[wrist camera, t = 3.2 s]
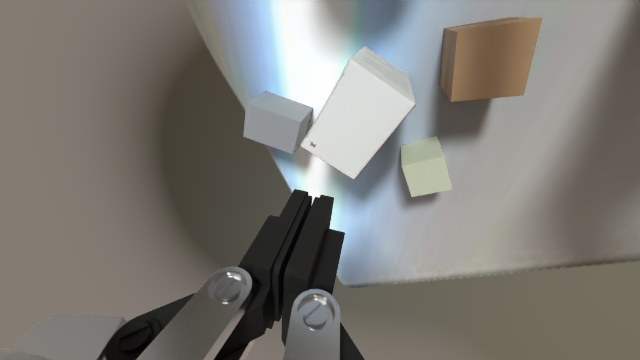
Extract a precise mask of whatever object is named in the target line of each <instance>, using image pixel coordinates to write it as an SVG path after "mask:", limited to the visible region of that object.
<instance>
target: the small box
mask: <svg viewBox="0 0 640 360" xmlns="http://www.w3.org/2000/svg"><path fill="white" fill-rule="evenodd" d="M415 105H416V102H415V98H414V95H413V91H412V87H411V84H410V80H409V76H408V75H407V74H405V73H404V72H403V71H401V70H400V69H398V68H397V67H396V66H394V65H393V64H391V63H390V62H388V61H387V60H385V59H384V58H383V57H381V56H380V55H378V54H377V53H375V52H374V51H372V50H371V49H369V48H368V47H366V46H364V47H363V48H361V49H360V50H359V51H358V52H357V53H356V54H355V55H354V56H353V57H351V58H350V59H349V61H348V62H347V65H346V67H345V69H344V70H343V72H342V74H341V76H340V78H339V80H338V82H337V83H336V85H335V87H334V89H333V91H332V92H331V94H330V96H329V98H328V99H327V101H326V103H325V105H324V106H323V108H322V110H321V112H320V113H319V115H318V117H317V119H316V120H315V122H314V124H313V125H312V127H311V129H310V130H309V132H308V134H307V135H306V137H305V138H304V140H303V141H302V143H301V144H300V146H301V147H303V148H304V149H306V150H307V151H309V152H310V153H312V154H314V155H315V156H317V157H318V158H320V159H322V160H323V161H325V162H326V163H328V164H330V165H331V166H333V167H334V168H336V169H337V170H339V171H341V172H342V173H344V174H346V175H347V176H349V177H351V178H352V179H356V177H357V176H358V175H359V174H360V173H361V171H362V170H363V169H364V168H365V166H366V165H367V164H368V163H369V161H370V160H371V159H372V158H373V157H374V155H375V154H376V153H377V152H378V150H379V149H380V148H381V147H382V145H383V144H384V143H385V142H386V141H387V139H388V138H389V137H390V136H391V134H392V133H393V132H394V131H395V130H396V128H397V127H398V126H399V125H400V123H401V122H402V121H403V120H404V119H405V117H406V116H407V115H408V114H409V112H410V111H411V110H412V109H413V108H414V106H415Z"/></svg>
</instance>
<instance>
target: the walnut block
mask: <svg viewBox="0 0 640 360" xmlns="http://www.w3.org/2000/svg"><path fill="white" fill-rule="evenodd" d="M541 21H542V18H510V17H509V18H503V19H497V20H491V21H485V22H479V23H473V24H467V25H461V26H456V27H450V28H444V35H443V49H442V63H441V76H440V87H441V88H442V90H443V91H444V93H445V94H446V96H447V97H448V99H449V100H450V102H456V101H467V100H477V99H488V98H499V97H510V96H521V95H524V92H525V87H526V83H527V79H528V75H529V71H530V66H531V62H532V58H533V54H534V50H535V46H536V41H537V37H538V33H539V29H540V25H541Z"/></svg>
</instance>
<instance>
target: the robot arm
mask: <svg viewBox="0 0 640 360" xmlns="http://www.w3.org/2000/svg"><path fill="white" fill-rule="evenodd" d="M333 201H334V197H329V196H325V195H321V196H320V198H318V197H315V199H314V201H313V204H312V196H308V192H306V191H301V190H297V189H295V190H294V191H293V193H292V195H291V197H290V198H289V200H288V202H287V204H286V206H285V208H284V209H283V211H282V213H281V215H280V216H279V217H276V216H272V215H270V216H269V217H268V218H267V220H266V221H265V223H264V225H263V226H262V228H261V230H260V231H259V233H258V235H257V236H256V238H255V240H254V241H253V243H252V244H251V246H250V248H249V249H248V251H247V253H246V254H245V256H244V257H243V259H242V261H241V262H240V264H239V266H238V267H227V268H224V269H221V270H219V271H217V272H215V273H214V274H213V275H212V276H211V277H210V278H209V279H208V280H207V281H206V282H205V283H204V284H203V285H202V287H201V288H200V289H199V290H198V291H197V292H196V293H194V294H191V295H189V296H186V297H184V298H182V299H179V300H177V301H174V302H172V303H170V304H167V305H165V306H162V307H160V308H157V309H155V310H152V311H150V312H148V313H145V314H143V315H140V316H138V317H136V318H134V319H132V320H125V319H124V318H123V317H99V316H70V315H61V316H54V317H51V318H48V319H46V320H43V321H41V322H40V323H38V324H36V325H35V326H33V327H32V328H31V329H29V330H28V331H27V332H26V333H25V334H24V335H23V336H22V337H21V338H20V339H19V340H18V341H17V342H16V344H15V345H14V346H13V347H12V348H11V349H4V348H0V360H245V359H246V357H247V355H248V353H249V352H250V350H251V348H252V346H253V345H254V342H255V340H256V338H258V337H260V336H262V335H263V334H264V333H265V331H266V328H270V329H272V326H273V323H274V321H279V320H280V319H281V316H282V341H283V343H284V346H285V351H284V357H283V360H364V358H363V357H362V355H361V354H360V352H359V350H358V349H357V347H356V346H355V344H354V343H353V341H352V340H351V338H350V336H349V335H348V333H347V332H346V330H345V329H344V327H343V326H342V324H341V322H340V309H339V305H338V303H337V301H336V300H335V298H334V297H333V296H332V292H333V288H334V283H335V278H336V273H337V268H338V264H339V259H340V254H341V249H342V244H343V240H344V235H345V233H344V232H340V231H336V230H331V229H329V227H330V220H331V214H332V208H333ZM311 204H312V206H311Z"/></svg>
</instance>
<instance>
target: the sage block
mask: <svg viewBox="0 0 640 360" xmlns="http://www.w3.org/2000/svg"><path fill="white" fill-rule="evenodd" d="M401 161H402V169H403V172H404V175H405V178H406V181H407V184H408V187H409V190H410V193H411V197H415V196H420V195H425V194H431V193H436V192H441V191H446V190H451V189H452V187H451V183H450V178H449V174H448V170H447V165H446V161H445V157H444V154H443V151H442V148H441V145H440V143H439V140H438V137H437V136H434V137H430V138H427V139H423V140H420V141H416V142H413V143H409V144H406V145H402V146H401Z"/></svg>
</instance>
